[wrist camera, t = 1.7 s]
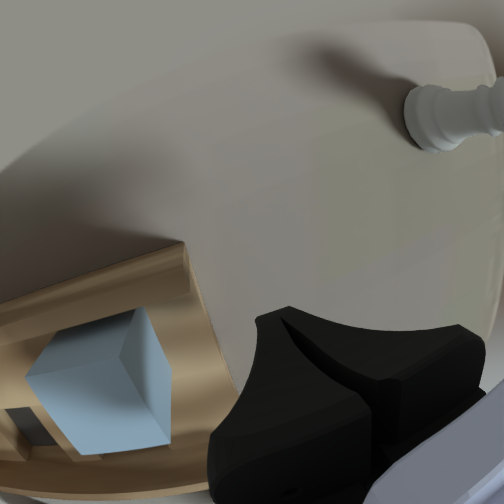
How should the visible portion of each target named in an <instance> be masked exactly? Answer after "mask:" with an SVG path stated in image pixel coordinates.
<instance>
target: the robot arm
mask: <svg viewBox="0 0 504 504" xmlns="http://www.w3.org/2000/svg"><path fill="white" fill-rule="evenodd" d="M255 323H256V327H257V345H256V351H255V357H254V361H253V365H252V368H251V371H250V374H249V377H248V380H247V382H246V384H245V386H244V389H243V391H242V393H241V395H240V396H239V398H238V400H237V401H236V403H235V404H234V406H233V408H232V409H231V411H230V412H229V414H228V415H227V416H226V417H225V419H224V420H223V421H222V422H221V423H220V424H219V425H218V427H217V428H216V429H215V430H214V431H213V432H212V433H211V434H210V438H209V444H208V452H207V479H208V486H209V492H210V496H211V498H212V500H213V501H214V503H215V504H504V379H503V380H502V381H501V382H500V383H499V384H498V385H497V386H496V387H495V388H493V389H492V390H491V391H490V392H489V393H488V394H486V392H485V391H483V390H482V389H481V388H479V384H480V380H481V375H482V371H483V367H484V362H485V355H486V350H485V344H484V341H483V340H482V338H481V337H479V336H478V335H476V334H474V333H473V332H471V331H469V330H468V329H466V328H464V327H463V326H461V325H459V324H457V325H452V326H446V327H441V328H435V329H428V330H416V331H380V330H370V329H363V328H357V327H352V326H347V325H343V324H339V323H335V322H332V321H329V320H325V319H322V318H320V317H317V316H314V315H311V314H309V313H306V312H304V311H301V310H299V309H296V308H293V307H291V306H287V307H284V308H281V309H279V310H276V311H273V312H270V313H267V314H264V315H261V316H258V317H256V319H255Z"/></svg>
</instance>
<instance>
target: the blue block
mask: <svg viewBox="0 0 504 504" xmlns="http://www.w3.org/2000/svg"><path fill="white" fill-rule="evenodd" d="M24 378H25V379H26V381H27V383H28V384H29V386H30V387H31V389H32V390H33V392H34V393H35V395H36V396H37V398H38V399H39V401H40V402H41V404H42V405H43V407H44V408H45V410H46V411H47V412H48V414H49V415H50V417H51V418H52V419H53V421H54V422H55V423H56V425H57V426H58V427H59V429H60V430H61V431H62V432H63V434H64V435H65V436H66V437H67V439H68V440H69V441H70V442H71V443H72V445H73V446H74V447H75V448H76V449H77V451H78V452H79V453H80V454H81V455H90V454H102V453H111V452H120V451H128V450H135V449H142V448H148V447H154V446H160V445H165V444H170V443H171V381H172V369H171V367H170V365H169V363H168V360H167V358H166V356H165V354H164V352H163V350H162V347H161V345H160V343H159V341H158V338H157V336H156V334H155V332H154V329H153V327H152V325H151V322H150V320H149V317H148V315H147V313H146V310H145V308H144V306H142V307H139V308H136V309H132V310H129V311H125V312H122V313H119V314H115V315H112V316H108V317H105V318H101V319H98V320H94V321H91V322H87V323H84V324H80V325H77V326H73V327H69V328H66V329H62V330H59V331H57V333H56V334H55V335H54V337H53V338H52V339H51V341H50V342H49V343H48V345H47V346H46V347H45V349H44V350H43V351H42V353H41V354H40V355H39V357H38V358H37V360H36V361H35V362H34V364H33V365H32V367H31V368H30V370H29V371H28V372H27V374H26V375H25V377H24Z"/></svg>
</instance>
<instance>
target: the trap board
mask: <svg viewBox="0 0 504 504" xmlns="http://www.w3.org/2000/svg"><path fill="white" fill-rule="evenodd" d="M142 306H144V308H145V310H146V313H147V315H148V317H149V320H150V322H151V325H152V327H153V329H154V332H155V334H156V336H157V338H158V341H159V343H160V345H161V347H162V350H163V352H164V354H165V356H166V358H167V360H168V363H169V365H170V367H171V369H172V381H171V443H170V444H165V445H160V446H154V447H148V448H142V449H135V450H128V451H120V452H111V453H102V454H90V455H81V454H80V453H79V452H78V451H77V449H76V448H75V447H74V446H73V445H72V443H71V442H70V441H69V440H68V439H67V437H66V436H65V435H64V434H63V432H62V431H61V430H60V429H59V427H58V426H57V425H56V423H55V422H54V421H53V419H52V418H51V417H50V415H49V414H48V412H47V411H46V410H45V408H44V407H43V405H42V404H41V402H40V401H39V399H38V398H37V396H36V395H35V393H34V392H33V390H32V389H31V387H30V386H29V384H28V383H27V381H26V379H25V378H24V377H25V375H26V374H27V372H28V371H29V370H30V368H31V367H32V365H33V364H34V362H35V361H36V360H37V358H38V357H39V355H40V354H41V353H42V351H43V350H44V349H45V347H46V346H47V345H48V343H49V342H50V341H51V339H52V338H53V337H54V335H55V334H56V333H57V331H59V330H62V329H66V328H69V327H73V326H77V325H80V324H84V323H87V322H91V321H94V320H98V319H101V318H105V317H108V316H112V315H115V314H119V313H122V312H125V311H129V310H132V309H136V308H139V307H142ZM238 398H239V395H238V393H237V390H236V388H235V385H234V382H233V380H232V377H231V375H230V372H229V370H228V367H227V364H226V362H225V359H224V356H223V354H222V351H221V348H220V346H219V343H218V340H217V338H216V335H215V332H214V329H213V326H212V324H211V321H210V318H209V315H208V312H207V310H206V307H205V304H204V301H203V298H202V295H201V292H200V289H199V286H198V283H197V280H196V277H195V274H194V271H193V268H192V265H191V262H190V259H189V255H188V252H187V249H186V246H185V243H184V242H182V243H179V244H176V245H173V246H170V247H166V248H163V249H160V250H157V251H154V252H151V253H147V254H144V255H141V256H138V257H135V258H132V259H129V260H126V261H123V262H119V263H116V264H113V265H110V266H107V267H104V268H101V269H98V270H95V271H92V272H89V273H86V274H83V275H80V276H77V277H75V278H72V279H69V280H66V281H63V282H60V283H57V284H54V285H51V286H48V287H46V288H43V289H40V290H37V291H34V292H31V293H29V294H26V295H23V296H20V297H17V298H15V299H12V300H9V301H6V302H4V303H1V304H0V491H1V492H6V493H12V494H18V495H24V496H31V497H40V498H49V499H62V500H84V501H108V500H131V499H144V498H154V497H163V496H171V495H178V494H185V493H191V492H196V491H202V490H207V489H209V486H208V479H207V452H208V444H209V438H210V434H211V433H212V432H213V431H214V430H215V429H216V428H217V427H218V425H219V424H220V423H221V422H222V421H223V420H224V419H225V417H226V416H227V415H228V414H229V412H230V411H231V409H232V408H233V406H234V404H235V403H236V401H237V400H238Z"/></svg>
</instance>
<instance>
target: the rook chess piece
mask: <svg viewBox="0 0 504 504" xmlns="http://www.w3.org/2000/svg"><path fill="white" fill-rule="evenodd" d="M404 119H405V125H406V127H407V129H408V131H409V133H410V136H411V137H412V138H413V139H414V140H415V142H416V143H417V144H418V145H419V146H420V147H421V148H422V149H424V150H426V151H428V152H430V153H440V152H444V151H450V150H452V149H454V148H455V147H456V146H457V145H459V144H460V143H461V142H462V141H463V140H465V138H467V137H471V136H475V135H479V134H484V133H489V134H490V135H491V136H494V137H497V136H498V135H499V134H500V133H501V132H504V77H502V76H501V77H499V78H498V79H497V80H496V82H495V83H494V85H493V87H491V88H489V87H488V86H486V85H480V86H478V87H477V89H476V90H471V91H451V90H450V89H446V88H443V87H441V86H437V85H428V84H427V85H425V86H424V87H421V86H418V87H416V88H414V89H412V90H410V92H409V94H408V96H407V97H406V99H405V104H404Z"/></svg>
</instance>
